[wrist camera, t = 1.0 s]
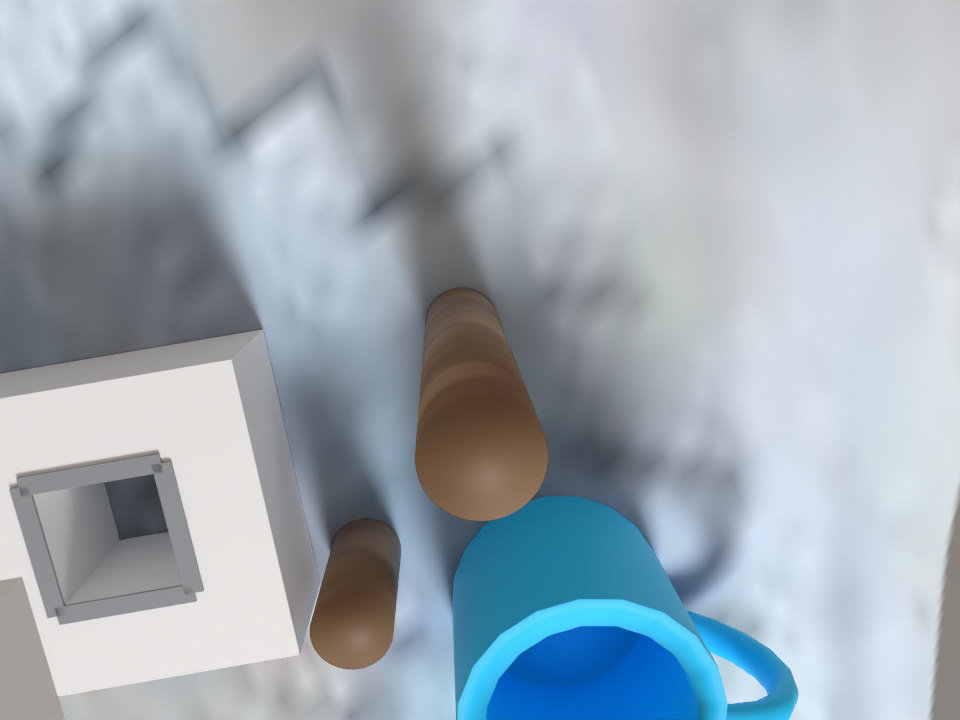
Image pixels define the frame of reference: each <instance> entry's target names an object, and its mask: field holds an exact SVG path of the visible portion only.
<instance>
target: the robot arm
mask: <svg viewBox="0 0 960 720" xmlns="http://www.w3.org/2000/svg"><path fill="white" fill-rule="evenodd" d="M0 720H65V719H64V715H63V712H62V708H61V705H60V702H59V698H58V695H57V692H56V688H55V685H54V682H53V678H52V675H51V672H50V668H49V665H48V662H47V658H46V655H45V652H44V648H43V645H42V642H41V638H40V635H39V632H38V628H37V625H36V622H35V618H34V615H33V612H32V608H31V605H30V602H29V598H28V595H27V592H26V588H25V585H24V582H23V578H22V577H18V578H12V579H6V580H0Z"/></svg>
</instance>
